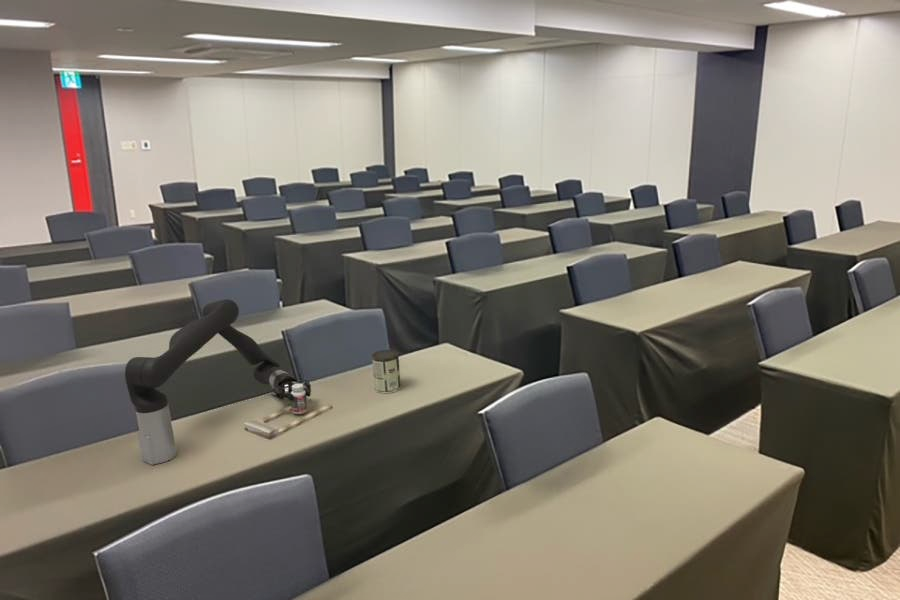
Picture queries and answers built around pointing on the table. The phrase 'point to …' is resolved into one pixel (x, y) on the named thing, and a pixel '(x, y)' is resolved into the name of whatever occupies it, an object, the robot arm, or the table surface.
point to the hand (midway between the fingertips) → (301, 396)
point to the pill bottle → (299, 399)
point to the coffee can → (386, 371)
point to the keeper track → (271, 431)
